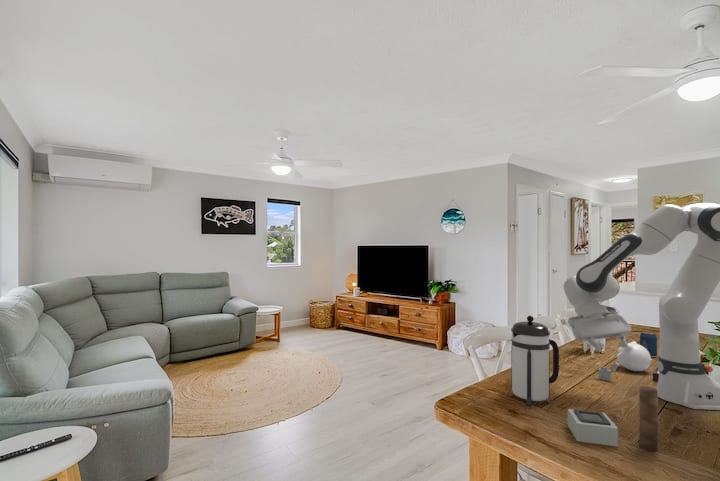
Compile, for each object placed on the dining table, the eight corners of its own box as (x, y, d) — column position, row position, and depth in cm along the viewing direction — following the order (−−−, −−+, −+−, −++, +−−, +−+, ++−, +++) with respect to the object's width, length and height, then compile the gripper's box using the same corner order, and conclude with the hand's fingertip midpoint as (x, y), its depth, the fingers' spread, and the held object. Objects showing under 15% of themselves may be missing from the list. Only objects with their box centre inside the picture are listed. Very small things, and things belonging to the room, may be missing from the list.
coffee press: (555, 412, 123) (555, 321, 124) (504, 401, 132) (504, 316, 132) (559, 395, 138) (559, 314, 138) (513, 386, 146) (513, 310, 147)
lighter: (598, 379, 156) (598, 360, 156) (598, 378, 157) (598, 359, 157) (619, 383, 152) (619, 363, 152) (619, 381, 153) (619, 362, 153)
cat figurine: (586, 346, 209) (586, 316, 210) (608, 350, 202) (608, 319, 202) (573, 355, 192) (573, 322, 192) (596, 359, 184) (596, 325, 184)
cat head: (648, 378, 158) (648, 349, 158) (612, 370, 167) (612, 343, 168) (656, 371, 167) (656, 343, 168) (622, 364, 177) (622, 338, 178)
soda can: (656, 355, 192) (655, 332, 192) (658, 359, 186) (657, 335, 186) (639, 353, 195) (639, 330, 196) (640, 356, 190) (640, 333, 190)
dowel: (653, 445, 103) (653, 386, 104) (661, 452, 100) (660, 392, 100) (637, 442, 104) (636, 385, 105) (643, 450, 101) (643, 390, 101)
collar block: (604, 429, 112) (604, 410, 112) (618, 446, 102) (617, 426, 102) (567, 425, 115) (567, 406, 115) (577, 441, 105) (577, 421, 105)
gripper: (569, 313, 138) (589, 347, 129) (620, 307, 140) (644, 340, 131) (562, 321, 143) (581, 355, 134) (612, 316, 145) (634, 349, 135)
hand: (612, 348), depth 132 cm, fingers open, 8 cm apart
